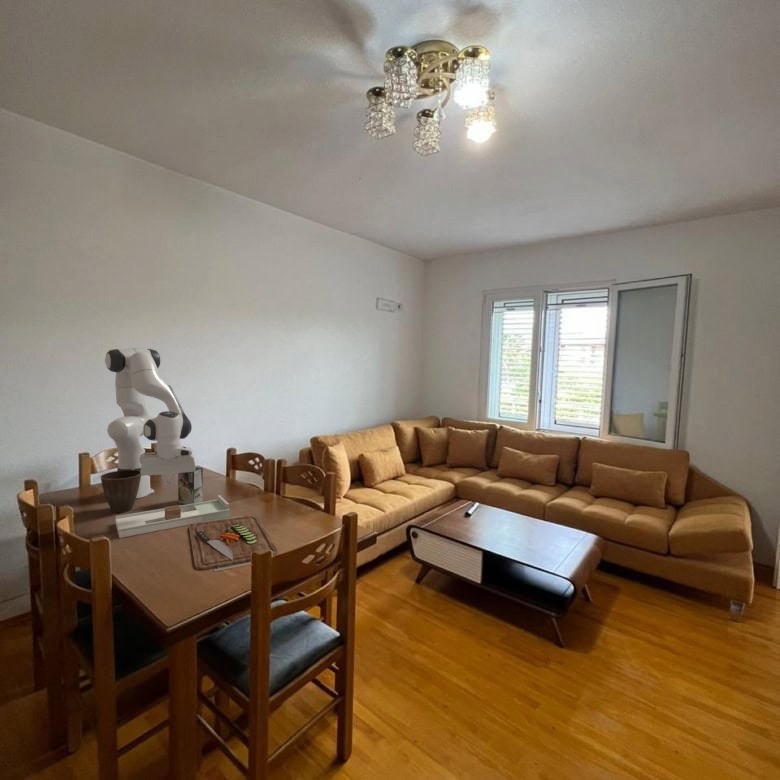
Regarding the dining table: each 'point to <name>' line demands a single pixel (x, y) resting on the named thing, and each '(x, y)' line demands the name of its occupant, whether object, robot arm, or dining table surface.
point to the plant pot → (121, 489)
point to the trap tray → (157, 520)
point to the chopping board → (228, 542)
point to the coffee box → (190, 486)
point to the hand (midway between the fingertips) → (168, 483)
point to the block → (172, 512)
